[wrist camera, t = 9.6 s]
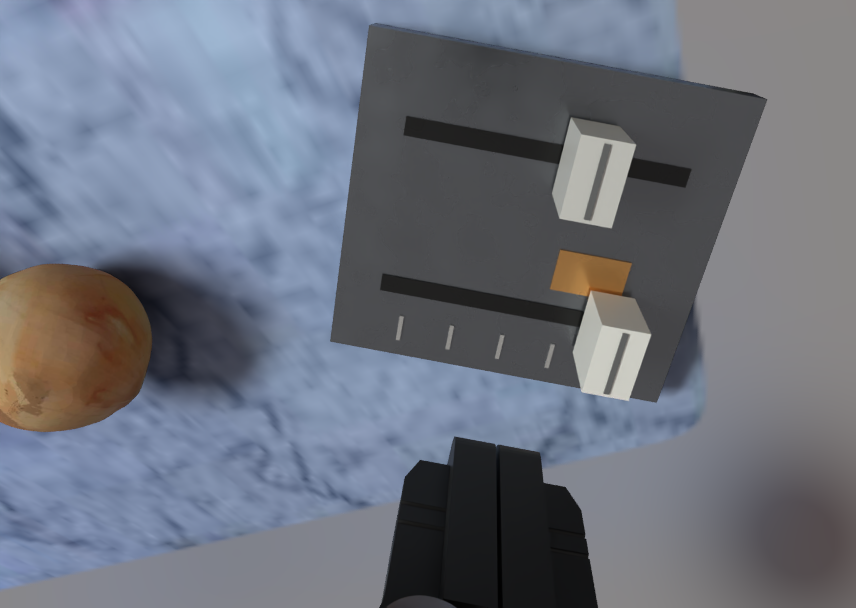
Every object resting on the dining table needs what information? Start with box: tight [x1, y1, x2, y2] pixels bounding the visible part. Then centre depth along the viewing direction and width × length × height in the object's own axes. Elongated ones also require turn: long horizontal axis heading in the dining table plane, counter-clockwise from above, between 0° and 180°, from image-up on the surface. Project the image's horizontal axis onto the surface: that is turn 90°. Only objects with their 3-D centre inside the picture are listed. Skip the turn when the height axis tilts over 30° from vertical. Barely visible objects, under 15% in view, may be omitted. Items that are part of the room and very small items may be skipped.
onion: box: [0, 264, 152, 432], centre depth 41 cm, size 10×10×10 cm
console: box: [330, 23, 767, 403], centre depth 39 cm, size 18×20×2 cm
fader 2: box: [573, 290, 651, 401], centre depth 38 cm, size 4×2×4 cm, turn 171°
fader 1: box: [552, 117, 636, 228], centre depth 34 cm, size 4×2×4 cm, turn 171°
